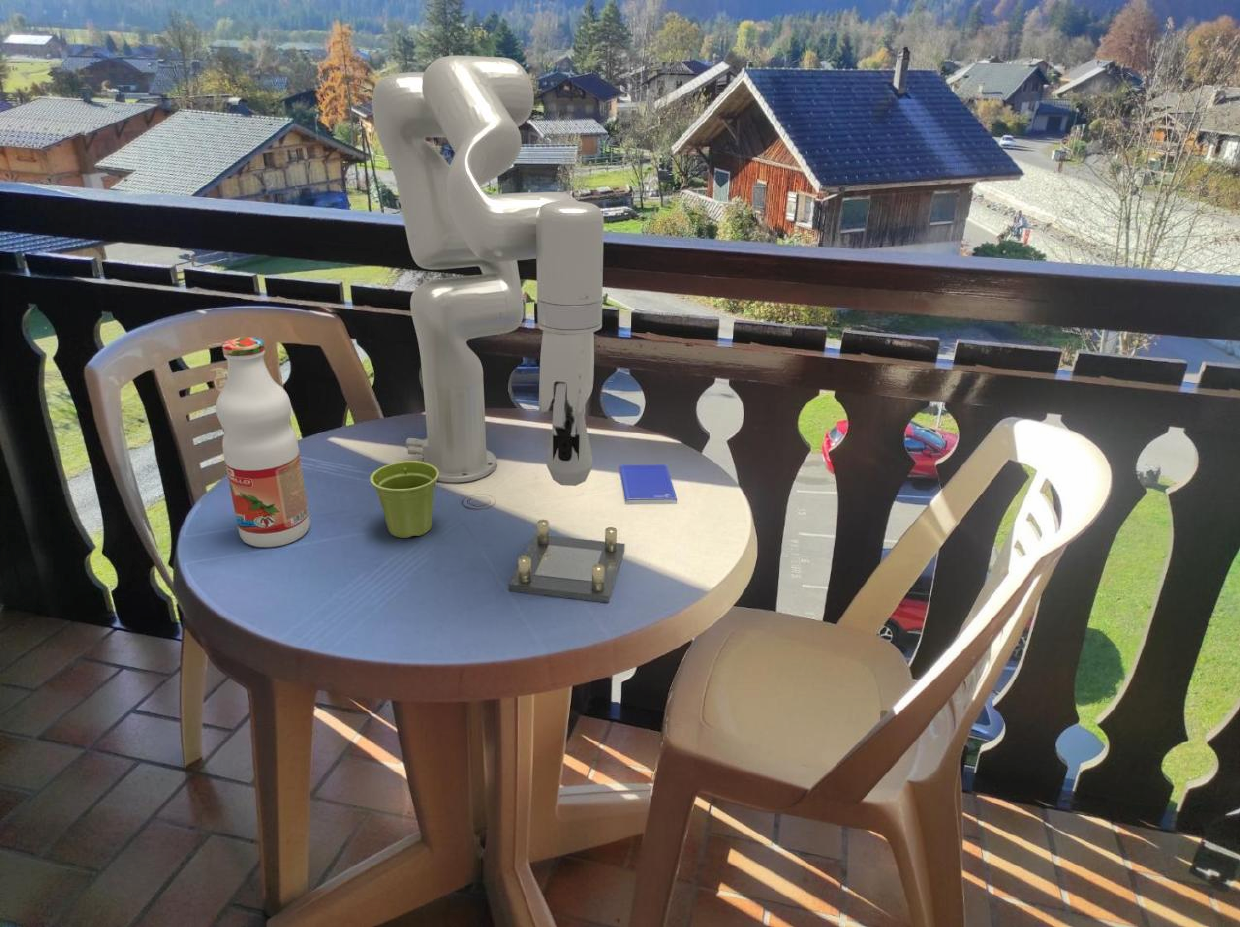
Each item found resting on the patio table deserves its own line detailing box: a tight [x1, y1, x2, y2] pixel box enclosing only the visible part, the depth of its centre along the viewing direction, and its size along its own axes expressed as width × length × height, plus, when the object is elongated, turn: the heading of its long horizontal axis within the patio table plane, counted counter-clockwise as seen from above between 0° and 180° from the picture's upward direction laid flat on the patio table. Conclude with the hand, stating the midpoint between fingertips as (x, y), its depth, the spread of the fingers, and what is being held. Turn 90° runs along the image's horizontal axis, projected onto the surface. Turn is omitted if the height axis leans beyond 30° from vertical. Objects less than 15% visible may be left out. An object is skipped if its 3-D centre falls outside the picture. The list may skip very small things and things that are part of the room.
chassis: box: [508, 519, 626, 604], centre depth 108 cm, size 13×13×4 cm
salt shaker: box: [546, 398, 594, 487], centre depth 100 cm, size 6×6×13 cm
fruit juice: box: [215, 337, 311, 548], centre depth 109 cm, size 9×9×28 cm
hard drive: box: [618, 464, 678, 506], centre depth 132 cm, size 2×8×12 cm
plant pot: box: [369, 460, 439, 539], centre depth 116 cm, size 9×9×9 cm
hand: (569, 456), depth 101 cm, fingers closed on salt shaker, 3 cm apart
